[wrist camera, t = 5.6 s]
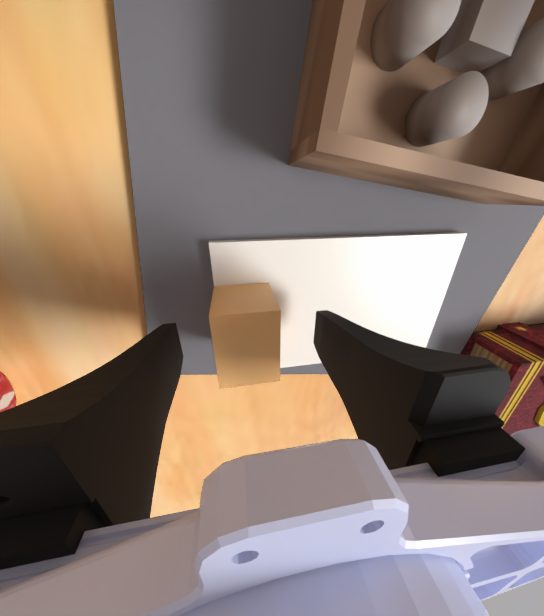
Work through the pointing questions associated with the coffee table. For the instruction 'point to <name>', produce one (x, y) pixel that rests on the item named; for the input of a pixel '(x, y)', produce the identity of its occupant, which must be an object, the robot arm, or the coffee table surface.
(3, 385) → the mug
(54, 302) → the coffee table surface
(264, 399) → the coffee table surface
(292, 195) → the mat
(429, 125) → the tub
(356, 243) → the lid
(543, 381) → the decorative book
